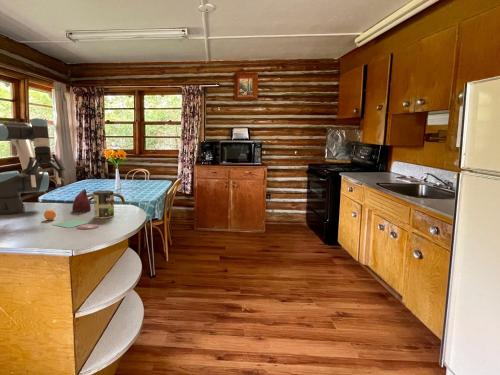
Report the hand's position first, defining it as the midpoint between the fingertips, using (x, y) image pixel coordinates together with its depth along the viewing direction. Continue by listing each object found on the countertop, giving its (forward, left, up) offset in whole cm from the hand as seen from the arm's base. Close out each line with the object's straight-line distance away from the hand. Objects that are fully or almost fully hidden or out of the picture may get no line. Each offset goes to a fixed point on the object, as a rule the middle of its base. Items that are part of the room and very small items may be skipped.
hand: (46, 185), depth 183 cm
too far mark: (+38, -5, -17) cm, 42 cm away
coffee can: (+26, +15, -17) cm, 35 cm away
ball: (+9, -5, -14) cm, 18 cm away
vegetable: (+2, +19, -17) cm, 26 cm away
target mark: (+26, -5, -17) cm, 31 cm away
